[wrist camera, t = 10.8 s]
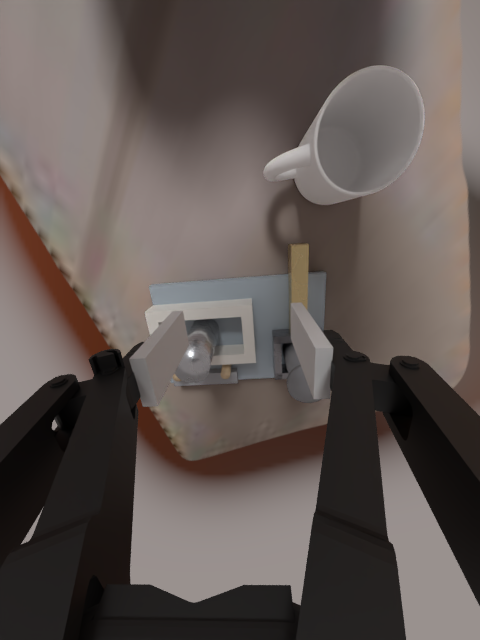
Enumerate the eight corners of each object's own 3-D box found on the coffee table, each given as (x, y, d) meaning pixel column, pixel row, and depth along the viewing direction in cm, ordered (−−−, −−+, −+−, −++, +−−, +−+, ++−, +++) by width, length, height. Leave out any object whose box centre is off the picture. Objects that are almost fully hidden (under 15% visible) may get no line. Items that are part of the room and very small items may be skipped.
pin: (189, 317, 34) (168, 352, 25) (217, 315, 34) (206, 350, 24) (194, 342, 35) (176, 384, 26) (221, 340, 35) (211, 381, 26)
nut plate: (152, 284, 34) (115, 306, 24) (323, 271, 32) (354, 289, 23) (173, 378, 39) (149, 425, 30) (319, 371, 38) (342, 417, 29)
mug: (265, 218, 30) (273, 213, 20) (255, 140, 27) (258, 93, 17) (363, 198, 29) (420, 184, 19) (363, 115, 26) (431, 49, 16)
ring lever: (268, 245, 30) (270, 247, 27) (323, 241, 29) (329, 242, 27) (273, 370, 36) (275, 379, 34) (318, 367, 36) (323, 377, 34)
